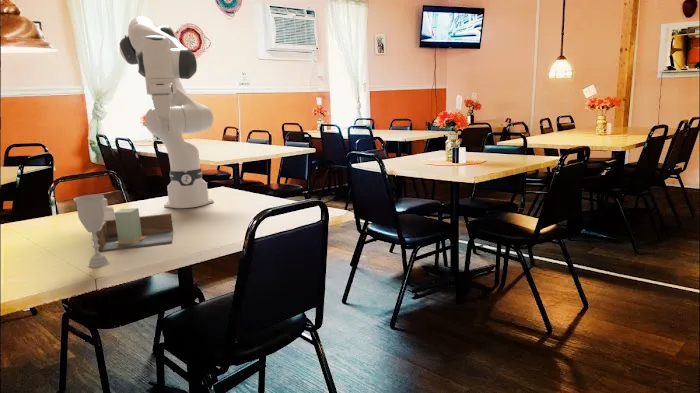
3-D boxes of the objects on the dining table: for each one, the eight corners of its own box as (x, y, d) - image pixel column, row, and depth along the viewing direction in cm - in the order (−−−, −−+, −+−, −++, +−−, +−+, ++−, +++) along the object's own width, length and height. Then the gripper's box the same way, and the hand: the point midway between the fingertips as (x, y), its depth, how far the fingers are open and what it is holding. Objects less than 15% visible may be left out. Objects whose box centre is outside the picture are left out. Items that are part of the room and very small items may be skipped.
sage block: (125, 237, 159) (121, 208, 157) (142, 236, 159) (138, 208, 157) (118, 242, 154) (114, 212, 152) (135, 241, 154) (131, 212, 152)
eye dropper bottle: (110, 233, 168) (104, 196, 166) (95, 232, 170) (89, 196, 167) (118, 229, 172) (114, 194, 170) (104, 229, 174) (99, 193, 171)
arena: (105, 239, 161) (102, 220, 160) (173, 231, 167) (171, 213, 165) (97, 252, 148) (94, 231, 147) (171, 243, 153) (169, 223, 152)
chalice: (98, 258, 142) (88, 194, 138) (119, 260, 140) (109, 194, 136) (77, 267, 135) (66, 199, 131) (99, 269, 133) (88, 200, 129)
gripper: (152, 89, 173) (157, 131, 176) (148, 88, 154) (154, 135, 157) (172, 88, 175) (177, 129, 178) (170, 87, 156) (176, 133, 158)
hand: (166, 132), depth 167 cm, fingers open, 8 cm apart
